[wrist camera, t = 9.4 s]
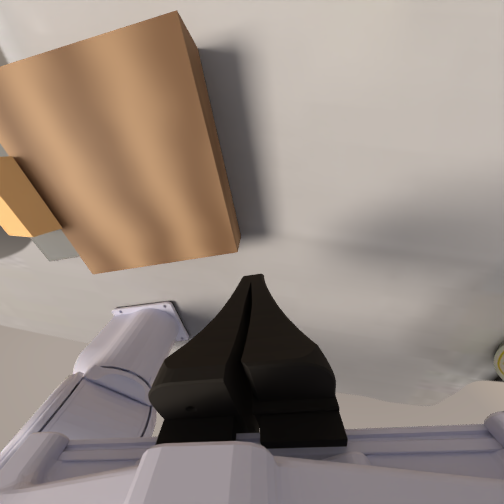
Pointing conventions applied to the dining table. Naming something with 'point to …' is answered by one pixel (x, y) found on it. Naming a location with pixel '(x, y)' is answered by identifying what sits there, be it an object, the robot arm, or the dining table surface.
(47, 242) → the mat
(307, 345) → the robot arm
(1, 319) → the dining table surface
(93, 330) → the dining table surface
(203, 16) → the dining table surface
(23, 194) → the block
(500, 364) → the air freshener
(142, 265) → the panel
